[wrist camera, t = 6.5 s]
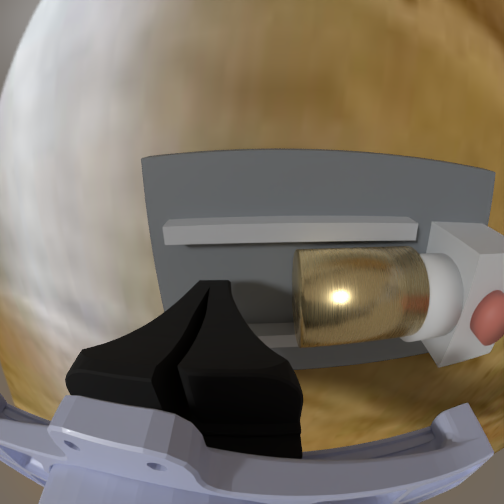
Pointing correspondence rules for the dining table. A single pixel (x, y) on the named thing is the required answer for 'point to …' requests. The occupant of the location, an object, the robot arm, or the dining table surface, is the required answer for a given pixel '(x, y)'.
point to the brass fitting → (358, 294)
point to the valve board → (329, 239)
